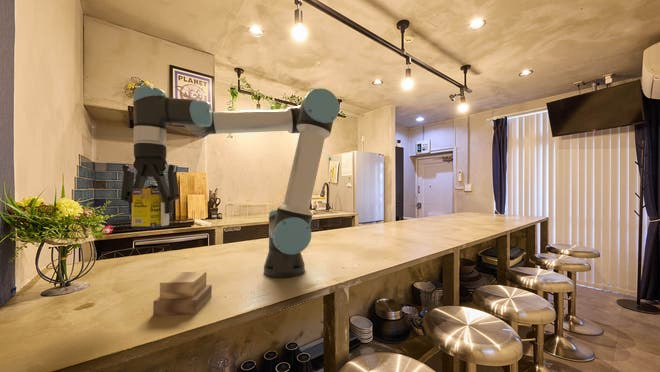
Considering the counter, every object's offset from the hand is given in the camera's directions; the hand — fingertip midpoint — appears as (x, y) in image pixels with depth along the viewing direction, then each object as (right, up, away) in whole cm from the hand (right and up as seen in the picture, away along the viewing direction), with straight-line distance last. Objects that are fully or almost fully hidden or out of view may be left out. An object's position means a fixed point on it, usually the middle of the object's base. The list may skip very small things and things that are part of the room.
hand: (150, 225), depth 71 cm
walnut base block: (+12, -21, -4) cm, 25 cm away
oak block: (+12, -17, -4) cm, 21 cm away
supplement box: (0, -1, 0) cm, 1 cm away
